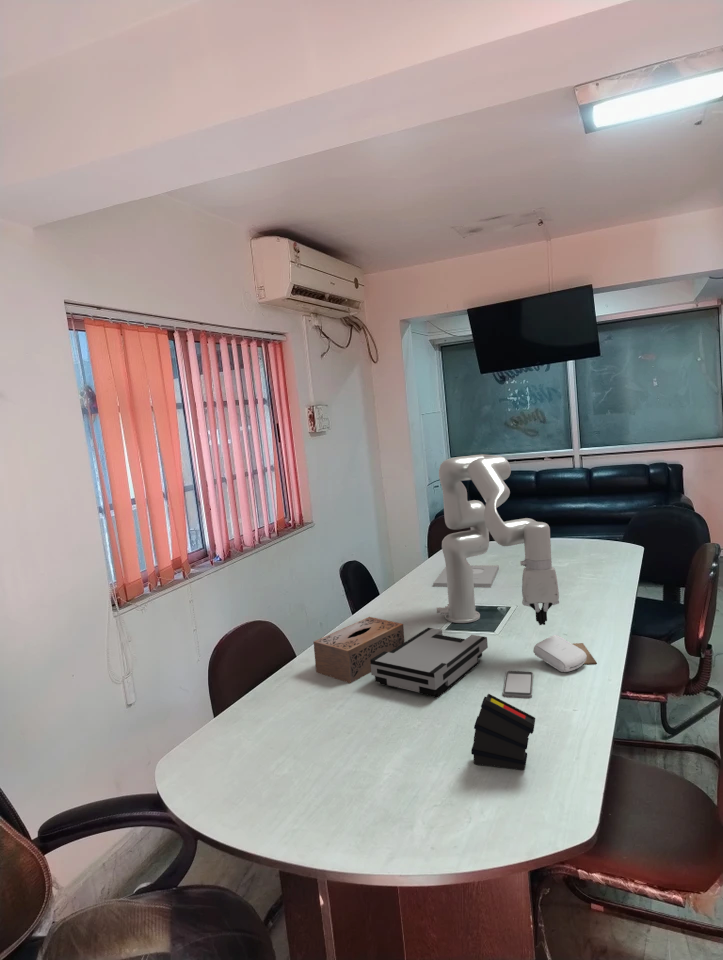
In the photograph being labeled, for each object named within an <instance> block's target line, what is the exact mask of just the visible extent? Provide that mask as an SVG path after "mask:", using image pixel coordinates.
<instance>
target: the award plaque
mask: <svg viewBox="0 0 723 960" xmlns="http://www.w3.org/2000/svg"><path fill="white" fill-rule="evenodd" d="M470 566H471V567H472V570H473V581H474V588H487V589H488V588H492V586H493V584H494V581H495V578H496V577H497V574H498V572H499V571H500V567H499V565H490V564H489V565H477V564H476V565H474V564H473V565H472V564H470ZM432 585H433V587H434V588H448V587H447V573H446V566H444V568H443V569H442V571H441V572H440V574H439V575H438V576H437V577H436V579H435V580H434V581H433V584H432Z"/></svg>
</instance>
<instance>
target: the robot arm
mask: <svg viewBox="0 0 723 960" xmlns="http://www.w3.org/2000/svg"><path fill="white" fill-rule="evenodd" d="M511 472H512V468H511V464H510V463H509V461H508V460H507V458H506V457H504V456H503V455H498V454H497V455H496V454H493V455H492V454H482V453H481V454H472V455H464V456H456V457H452V458H451V457H450V458H448V459H445V460H443V461H442V462H441V464H440V465H439V469H438V478H439V482H440V484H441V485H440V486H441V490H442V496H443V497H442V498H443V500H442V501H443V514H444V515H443V516H444V523H445V526H446V527H447V528H448V529H450V530H462V529H468V530H463V531H458V532H453V533H449V534H447V535H446V536H444V538H443V539H442V541H441V549H442V554H443V558H444V562H445V567H446V573H447V587H446V588H447V598H448V602H447V603H448V604H447V606H444V607H436V613H437V614H440V615H444V617H445V619H446V621H448V622H450V623H455V624H467V623H472V622H473V623H474V622H477V621H478V620H480V619H481V614H480V612H479V611H477V610H476V602H475V601H476V600H475V599H476V597H475V587H474V581H473V570H472V567H471V566H470V565H471V564H470V563H469V562H468V560H467V559H468V558H473V557H478V556H481V555H484V554H485V553H487V552H488V550H489V548H490V535H491V537H492V539H493V540H494V541H495V542H496V543H497V544H498V545H499V546H501V547H511V546H515V545H516V546H517V545H522V544H523V545H524V559H523V560H520V561H519V562H520V566H522V567H524V568H523V570H522V581H521V592H522V593H521V596H522V602H521V604H522V605H523V606H525V607H530V608H532V610H534V611H535V621H536V622H537V623H538V625H539V626H545V625H546V622H547V621H548V616H547V614H548V610H550V608H552V606H555V605H559V604H560V601H559V599H560V592H559V584H558V578H557V577H558V576H557V571H556V569H555V567H553V564H552V546H551V545H552V543H551V527H550V526H549V524H548V523H546V522H545V521H544V522H543V521H538V520H537V521H536V520H535V519H533V518H528V517H525V518H519V519H511V520H506V521H504V520H503V519H502V518H501V515H500V514H499V512H498V510H497V508H498V507H500V506H501V505H502V504H504V503H505V502H506V501H507V500H508V498H509V497H510V494H511V491H510V488H509V487H508V485H507V484H506V483H505V481H506V480H507V479H508V478H509V477H510V475H511ZM463 481H472V483H473V484H474V486H475V487H476V489H477V491H478V492H479V494H480V495H481V497H482V498H483V500H484V502H485V504H484V502H482V501H480V500H478V499H477V500H475V499H473V500H468V492H467V491H468V490H467V488H466V486H465V484H464V483H463ZM469 528H470V529H469ZM539 604H541V609H540V605H539Z"/></svg>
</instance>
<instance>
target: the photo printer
mask: <svg viewBox="0 0 723 960" xmlns="http://www.w3.org/2000/svg"><path fill="white" fill-rule="evenodd" d="M533 653H534V656H535V657H537V658H539V659H540V660H542V661H543V662H545V663H547V664H549V666H551V667H553V668H555V669H556V670H558V671H559V672H561V673H568V672H572V671H574V670H577V669H579V668H580V667H582V666H583V664H584V663H585V661H586V657H587V655H586V653H585V652H584V651H583V650H582V649H580V648H578V647H577V646H575V645H573V643H571V642H570V641H568V640H567V639H565V638H563V637H561V636H559V635H558V634H553V635H552V636H549V637H547V638H544V639H543V640H540V641H539V642H538V643H535V645H534V647H533Z"/></svg>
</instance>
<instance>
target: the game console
mask: <svg viewBox="0 0 723 960" xmlns="http://www.w3.org/2000/svg"><path fill="white" fill-rule="evenodd" d="M488 648H489V646H488V637H487V636H481V635H475V634H471V635H469V636H467V638H461V637H455V636H448V635H443V629H438V628H432V627H427V628H425V629H423V630H422V631H420V632H418V633H417V634H416V635H414V636H413V637H412V636H411V638H409V639H408V640H406V641H405V643H403V644H401V645H400V646H398V647H397V648H395V649H393V650H392V651H390V652H385V651H384V652H382V653H380V654H379V655H377V656H376V657H374V658H372V659H371V660H370V662H371V673H370V674H371V676H374V681H375V682H376V683H378V684H379V685H381V686H382V685H383V686H386V687H391V688H395V689H398V688H399V689H404V690H409V691H412V692H416V693H418V694H419V695H425V696H429V697H433V698H437V699H438V698H439V697H441V696H443V694H445V692H447V691H449V689H450V688H452V687H453V686H454V685H455V684H457V683H458V682H459V681H460V680H461V679H462V678H464V677H466V676H467V674H468V673H470V672H471V671H472V670H474V669H475V668H476V667H477V666H479V664H480V661H479V660H480V659H481V658H483V652H484V651H486V650H487V649H488Z"/></svg>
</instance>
